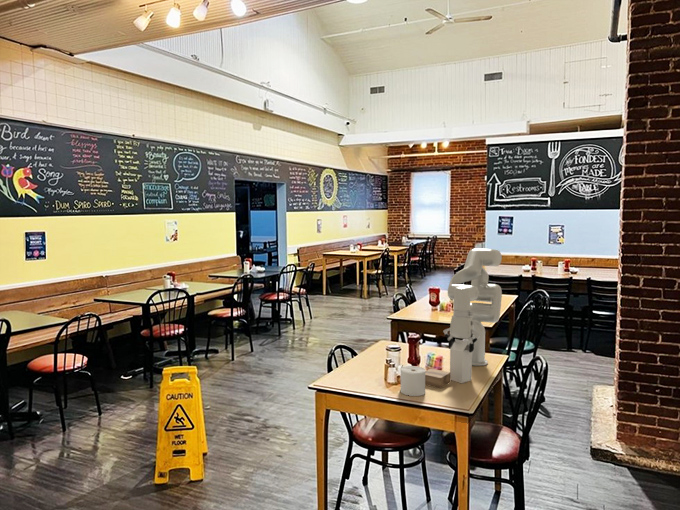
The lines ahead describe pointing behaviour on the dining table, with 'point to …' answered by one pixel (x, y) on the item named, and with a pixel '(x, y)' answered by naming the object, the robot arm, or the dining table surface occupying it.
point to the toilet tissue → (412, 380)
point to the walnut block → (437, 378)
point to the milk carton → (460, 362)
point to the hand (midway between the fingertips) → (460, 350)
